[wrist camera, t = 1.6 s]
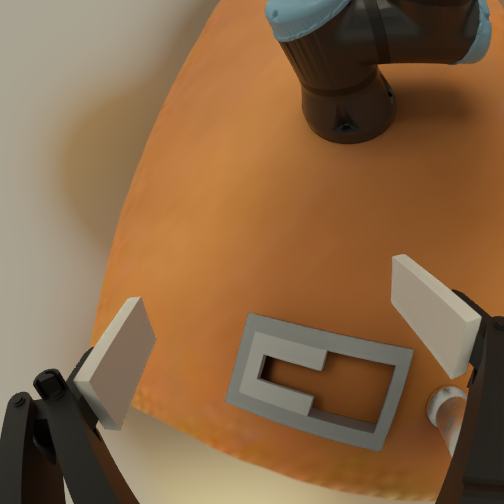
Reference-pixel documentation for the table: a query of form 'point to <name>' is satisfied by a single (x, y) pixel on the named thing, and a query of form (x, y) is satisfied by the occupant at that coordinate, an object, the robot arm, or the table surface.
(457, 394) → the steel peg
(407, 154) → the table surface
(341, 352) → the keyhole plate
